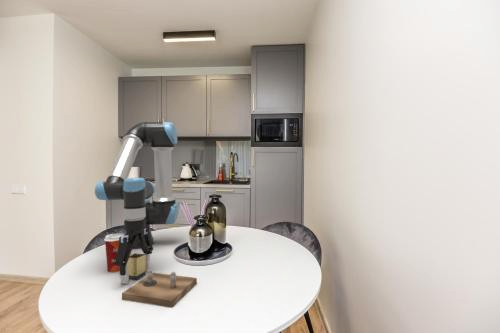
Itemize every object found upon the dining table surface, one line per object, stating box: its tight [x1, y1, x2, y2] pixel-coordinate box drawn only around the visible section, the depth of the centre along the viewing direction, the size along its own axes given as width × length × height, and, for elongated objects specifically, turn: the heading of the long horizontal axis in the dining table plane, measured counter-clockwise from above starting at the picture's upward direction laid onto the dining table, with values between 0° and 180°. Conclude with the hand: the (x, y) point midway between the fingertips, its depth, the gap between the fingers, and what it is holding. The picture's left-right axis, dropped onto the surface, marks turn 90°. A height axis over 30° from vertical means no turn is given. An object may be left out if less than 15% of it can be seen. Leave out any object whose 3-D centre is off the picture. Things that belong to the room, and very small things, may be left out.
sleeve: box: [127, 253, 147, 281], centre depth 99 cm, size 5×5×8 cm
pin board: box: [121, 268, 198, 308], centre depth 88 cm, size 16×18×7 cm
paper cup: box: [103, 232, 125, 273], centre depth 107 cm, size 8×8×14 cm
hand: (135, 276), depth 99 cm, fingers open, 11 cm apart
